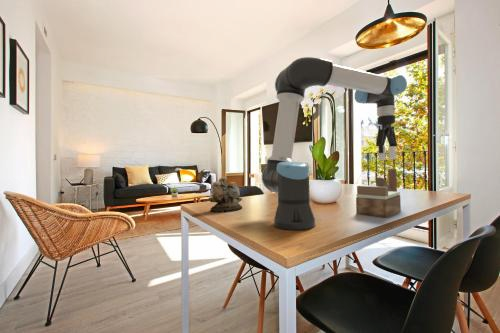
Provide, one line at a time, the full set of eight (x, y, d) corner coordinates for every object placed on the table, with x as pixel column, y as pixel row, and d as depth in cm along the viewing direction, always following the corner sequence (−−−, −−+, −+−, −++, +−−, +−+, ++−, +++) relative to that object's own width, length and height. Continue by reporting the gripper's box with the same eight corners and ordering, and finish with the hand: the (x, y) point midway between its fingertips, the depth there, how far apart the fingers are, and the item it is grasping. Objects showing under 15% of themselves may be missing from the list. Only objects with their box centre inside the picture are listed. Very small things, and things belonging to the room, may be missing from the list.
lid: (356, 197, 109) (356, 186, 109) (372, 192, 120) (372, 182, 120) (385, 199, 100) (385, 187, 100) (399, 194, 112) (399, 183, 111)
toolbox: (356, 213, 109) (356, 197, 109) (372, 207, 120) (372, 193, 120) (386, 217, 100) (385, 200, 100) (400, 210, 112) (400, 195, 111)
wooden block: (377, 206, 123) (376, 169, 122) (392, 204, 127) (391, 168, 127) (383, 208, 119) (382, 169, 119) (399, 205, 124) (398, 168, 123)
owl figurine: (214, 214, 119) (212, 178, 119) (204, 211, 129) (203, 177, 129) (246, 209, 128) (245, 175, 128) (235, 206, 138) (234, 175, 138)
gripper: (384, 112, 111) (386, 160, 112) (403, 116, 128) (404, 158, 128) (367, 114, 117) (368, 160, 117) (387, 119, 134) (388, 159, 134)
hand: (387, 159), depth 123 cm, fingers open, 13 cm apart
